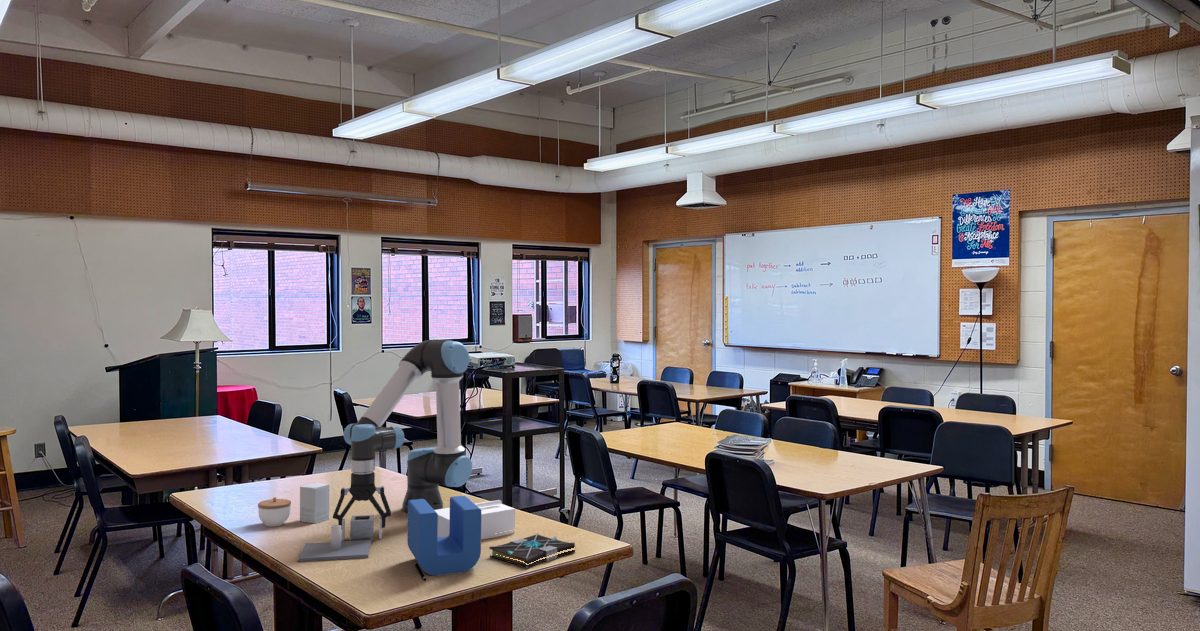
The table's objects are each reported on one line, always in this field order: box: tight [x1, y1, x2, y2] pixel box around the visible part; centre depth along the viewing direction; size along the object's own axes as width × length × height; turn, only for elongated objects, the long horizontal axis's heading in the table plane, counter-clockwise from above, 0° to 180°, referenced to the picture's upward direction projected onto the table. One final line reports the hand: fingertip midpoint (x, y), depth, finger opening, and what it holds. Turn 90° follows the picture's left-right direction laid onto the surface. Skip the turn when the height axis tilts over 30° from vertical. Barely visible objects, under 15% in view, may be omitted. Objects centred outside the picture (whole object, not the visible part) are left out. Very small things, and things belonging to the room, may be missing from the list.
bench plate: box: [297, 524, 372, 563], centre depth 245 cm, size 20×16×8 cm
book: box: [489, 532, 576, 570], centre depth 245 cm, size 22×17×5 cm
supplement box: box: [299, 482, 330, 524], centre depth 283 cm, size 7×7×13 cm
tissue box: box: [435, 499, 516, 541], centre depth 267 cm, size 14×25×11 cm, turn 129°
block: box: [406, 495, 482, 576], centre depth 234 cm, size 18×18×18 cm
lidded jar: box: [257, 497, 292, 528], centre depth 277 cm, size 11×11×9 cm
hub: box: [349, 514, 375, 543], centre depth 260 cm, size 7×7×7 cm
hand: (361, 538), depth 259 cm, fingers open, 11 cm apart
